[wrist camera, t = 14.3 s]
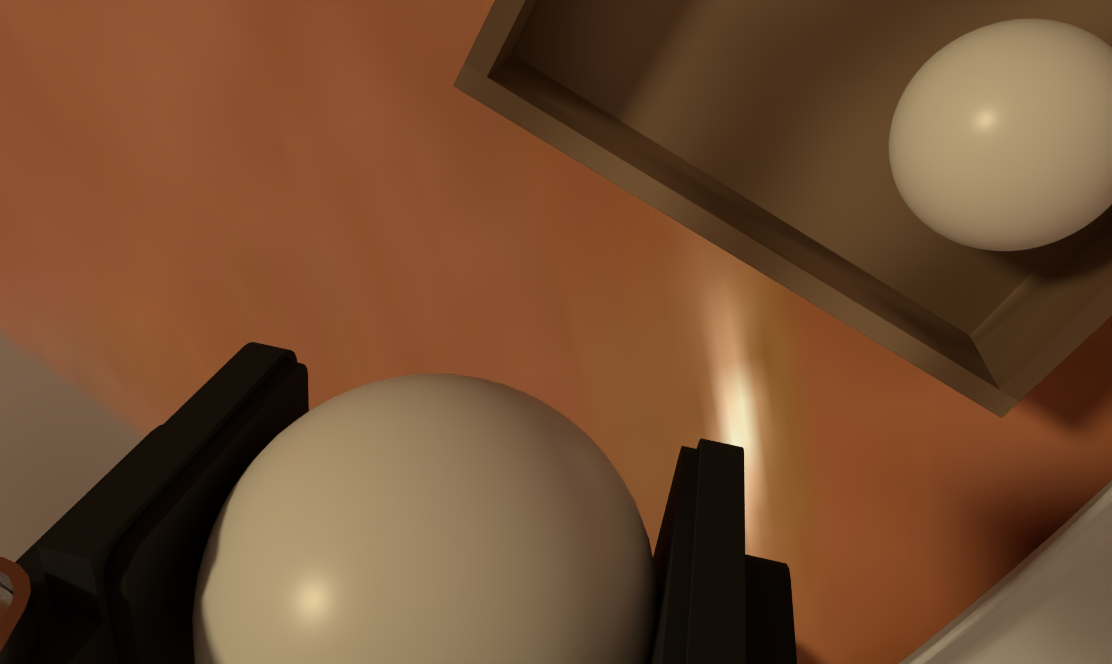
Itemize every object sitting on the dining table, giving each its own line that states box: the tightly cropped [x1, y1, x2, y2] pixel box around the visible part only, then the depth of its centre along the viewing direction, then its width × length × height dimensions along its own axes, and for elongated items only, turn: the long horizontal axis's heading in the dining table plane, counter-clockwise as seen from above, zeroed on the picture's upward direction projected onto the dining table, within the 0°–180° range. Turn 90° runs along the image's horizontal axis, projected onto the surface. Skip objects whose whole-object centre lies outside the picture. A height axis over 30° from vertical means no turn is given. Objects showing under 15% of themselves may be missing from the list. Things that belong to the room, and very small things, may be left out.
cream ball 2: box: [889, 18, 1112, 251], centre depth 19 cm, size 5×5×5 cm
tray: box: [454, 0, 1112, 418], centre depth 20 cm, size 16×11×4 cm
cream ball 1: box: [192, 373, 657, 664], centre depth 10 cm, size 5×5×5 cm
